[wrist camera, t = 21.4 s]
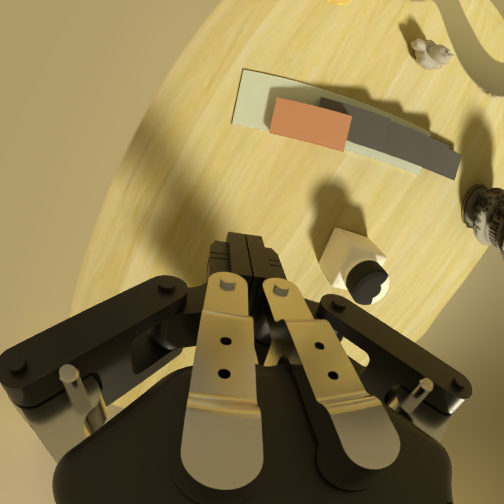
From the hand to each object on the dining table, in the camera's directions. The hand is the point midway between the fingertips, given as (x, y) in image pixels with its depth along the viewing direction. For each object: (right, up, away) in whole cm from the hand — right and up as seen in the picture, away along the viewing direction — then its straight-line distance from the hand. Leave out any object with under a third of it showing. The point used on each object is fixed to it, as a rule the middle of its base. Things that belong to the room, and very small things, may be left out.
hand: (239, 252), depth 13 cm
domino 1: (+3, +18, +22) cm, 29 cm away
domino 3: (+16, +18, +24) cm, 34 cm away
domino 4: (+22, +17, +25) cm, 37 cm away
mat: (+14, +19, +25) cm, 34 cm away
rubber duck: (+27, +32, +19) cm, 46 cm away
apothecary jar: (+47, +10, +34) cm, 59 cm away
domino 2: (+9, +19, +23) cm, 31 cm away
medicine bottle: (+16, 0, +35) cm, 38 cm away
